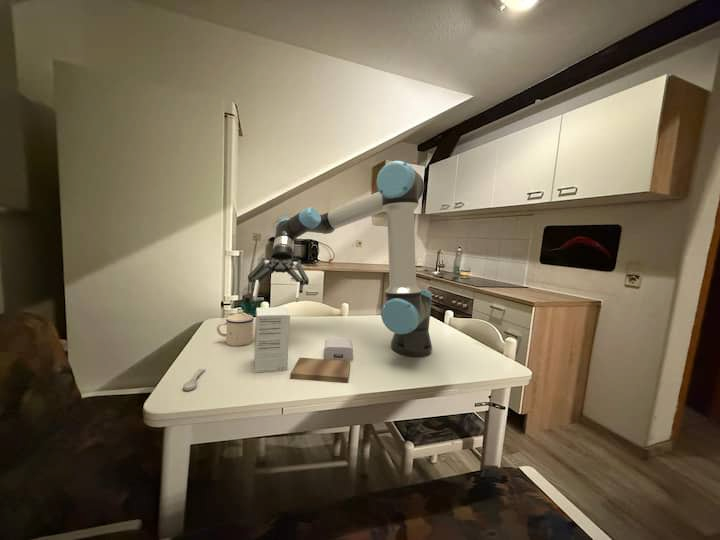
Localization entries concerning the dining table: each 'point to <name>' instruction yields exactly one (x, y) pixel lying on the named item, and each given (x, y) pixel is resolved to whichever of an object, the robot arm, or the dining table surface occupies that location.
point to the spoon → (193, 381)
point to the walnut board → (321, 370)
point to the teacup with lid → (238, 329)
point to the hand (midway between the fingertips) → (276, 299)
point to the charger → (338, 349)
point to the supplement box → (271, 339)
